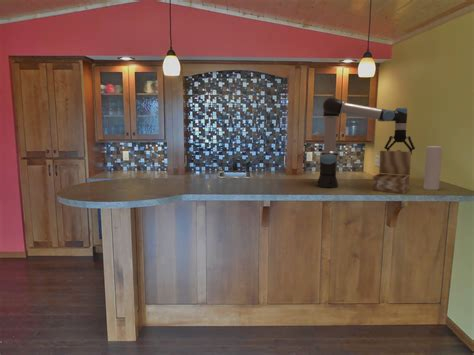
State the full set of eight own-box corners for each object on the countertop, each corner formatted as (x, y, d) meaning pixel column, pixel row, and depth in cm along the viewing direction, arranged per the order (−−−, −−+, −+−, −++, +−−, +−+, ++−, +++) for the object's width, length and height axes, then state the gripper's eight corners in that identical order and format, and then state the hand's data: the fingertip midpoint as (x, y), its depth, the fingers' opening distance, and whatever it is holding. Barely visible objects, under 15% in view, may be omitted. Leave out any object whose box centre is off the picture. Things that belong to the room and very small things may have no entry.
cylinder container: (430, 190, 238) (433, 146, 233) (420, 187, 247) (423, 145, 242) (442, 189, 239) (445, 146, 235) (432, 187, 248) (435, 145, 244)
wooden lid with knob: (379, 150, 246) (385, 147, 257) (379, 173, 250) (384, 169, 261) (410, 151, 235) (414, 148, 245) (409, 175, 238) (413, 171, 249)
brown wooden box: (372, 190, 239) (372, 176, 237) (378, 186, 252) (379, 173, 250) (403, 193, 227) (404, 178, 225) (408, 189, 240) (409, 175, 238)
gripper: (380, 129, 253) (379, 158, 256) (418, 129, 238) (416, 160, 242) (383, 129, 259) (382, 157, 262) (420, 129, 244) (418, 159, 248)
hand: (398, 158), depth 252 cm, fingers open, 13 cm apart
